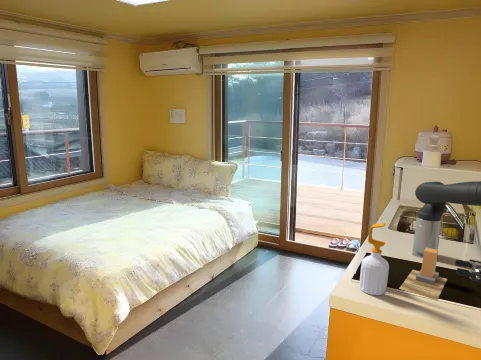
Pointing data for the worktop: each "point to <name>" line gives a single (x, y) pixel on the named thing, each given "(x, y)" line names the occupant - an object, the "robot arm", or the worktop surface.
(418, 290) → the oak board
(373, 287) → the soap bottle
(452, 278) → the worktop surface
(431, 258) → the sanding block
